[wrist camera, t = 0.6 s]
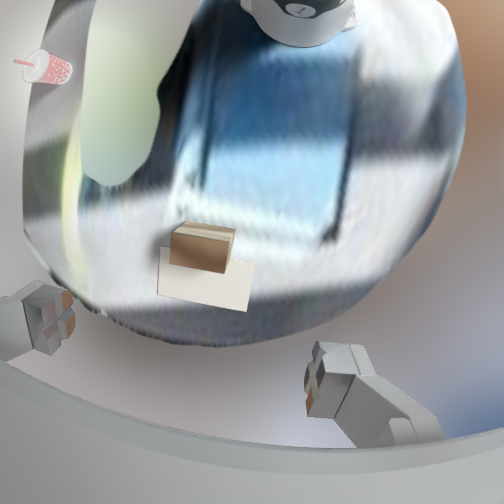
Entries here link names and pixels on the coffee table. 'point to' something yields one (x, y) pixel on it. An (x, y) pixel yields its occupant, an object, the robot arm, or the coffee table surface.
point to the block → (202, 247)
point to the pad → (206, 283)
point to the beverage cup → (45, 68)
